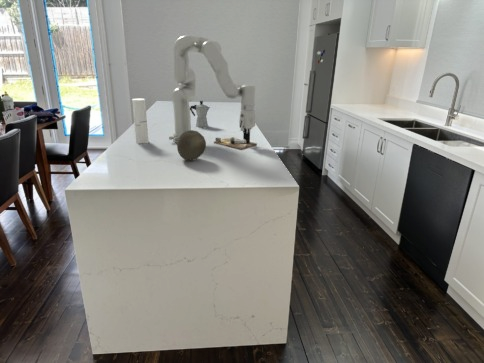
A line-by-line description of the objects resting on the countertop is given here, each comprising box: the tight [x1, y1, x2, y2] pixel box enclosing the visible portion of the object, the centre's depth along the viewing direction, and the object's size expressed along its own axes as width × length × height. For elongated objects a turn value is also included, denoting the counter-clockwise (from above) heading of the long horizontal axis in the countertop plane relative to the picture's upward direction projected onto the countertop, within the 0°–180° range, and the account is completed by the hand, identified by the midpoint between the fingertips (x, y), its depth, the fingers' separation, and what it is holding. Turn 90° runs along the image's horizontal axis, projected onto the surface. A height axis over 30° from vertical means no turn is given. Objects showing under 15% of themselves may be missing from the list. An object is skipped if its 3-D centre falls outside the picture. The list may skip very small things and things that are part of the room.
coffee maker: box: [189, 100, 211, 129], centre depth 242 cm, size 15×9×18 cm, turn 84°
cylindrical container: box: [131, 97, 149, 144], centre depth 198 cm, size 7×7×25 cm
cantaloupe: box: [176, 129, 207, 162], centre depth 170 cm, size 14×14×15 cm
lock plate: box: [213, 136, 258, 151], centre depth 202 cm, size 15×21×3 cm
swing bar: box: [229, 135, 251, 143], centre depth 200 cm, size 12×3×6 cm, turn 98°
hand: (246, 139), depth 197 cm, fingers closed
